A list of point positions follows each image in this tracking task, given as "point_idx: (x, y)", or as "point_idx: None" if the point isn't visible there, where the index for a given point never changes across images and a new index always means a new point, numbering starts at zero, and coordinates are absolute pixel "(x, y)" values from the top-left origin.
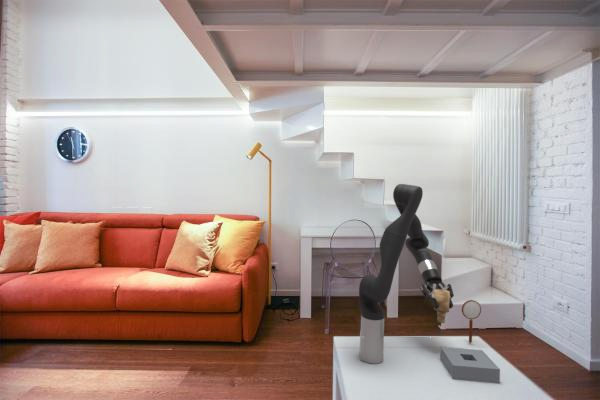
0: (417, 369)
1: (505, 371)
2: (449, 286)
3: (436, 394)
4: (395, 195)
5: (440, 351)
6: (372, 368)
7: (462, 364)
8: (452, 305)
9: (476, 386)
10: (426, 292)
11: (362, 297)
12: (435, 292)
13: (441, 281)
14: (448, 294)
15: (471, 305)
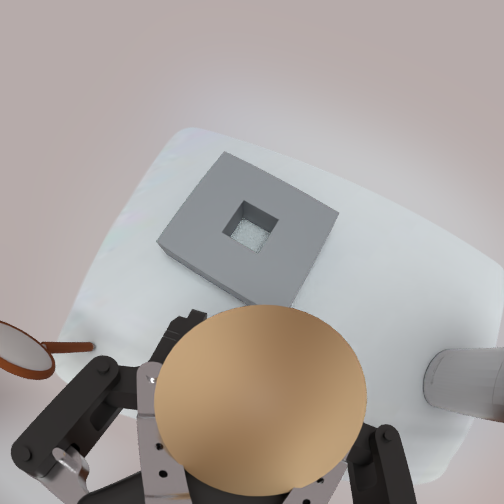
0: (382, 297)
1: (155, 198)
2: (40, 447)
3: (399, 205)
4: None
5: None
6: (462, 333)
7: (308, 204)
8: (192, 312)
9: (294, 184)
10: (403, 465)
11: None
12: (351, 428)
13: None
14: (248, 307)
15: (1, 342)
